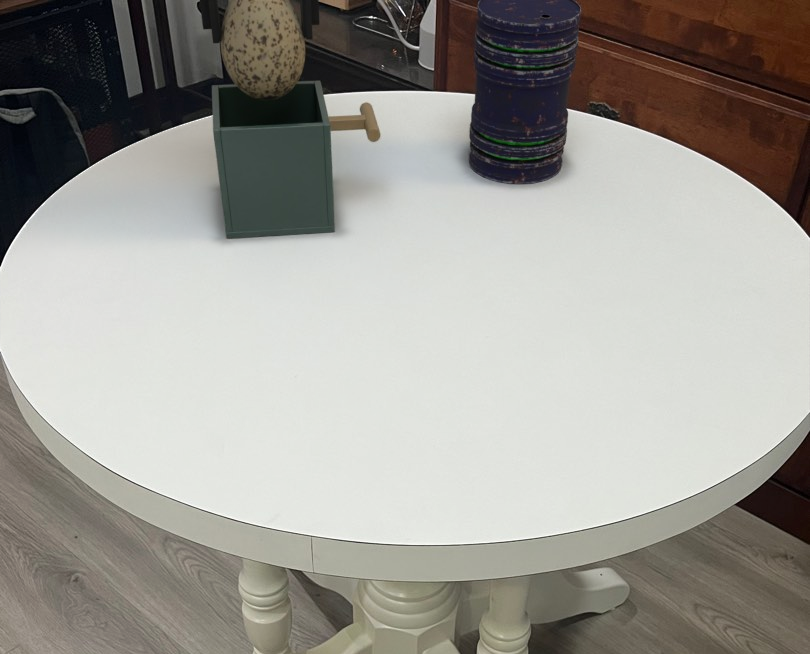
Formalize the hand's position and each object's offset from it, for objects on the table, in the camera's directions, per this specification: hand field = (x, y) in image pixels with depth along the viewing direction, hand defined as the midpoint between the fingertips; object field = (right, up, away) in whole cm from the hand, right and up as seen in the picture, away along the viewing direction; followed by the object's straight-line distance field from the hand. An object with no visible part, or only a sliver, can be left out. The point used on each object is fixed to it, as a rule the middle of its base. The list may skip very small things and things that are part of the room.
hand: (262, 34), depth 84 cm
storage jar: (+24, -4, +19) cm, 31 cm away
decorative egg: (0, -4, +4) cm, 5 cm away
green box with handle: (-5, -8, +7) cm, 12 cm away
